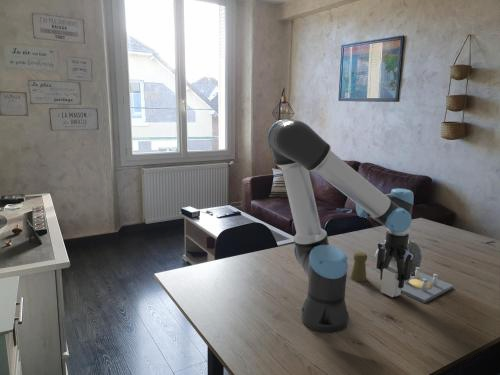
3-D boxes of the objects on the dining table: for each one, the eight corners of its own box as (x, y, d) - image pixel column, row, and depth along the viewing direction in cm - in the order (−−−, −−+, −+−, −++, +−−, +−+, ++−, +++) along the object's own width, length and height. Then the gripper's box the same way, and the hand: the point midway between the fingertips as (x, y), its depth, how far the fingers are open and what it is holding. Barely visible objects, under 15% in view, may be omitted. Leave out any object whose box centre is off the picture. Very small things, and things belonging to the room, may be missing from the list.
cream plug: (392, 297, 134) (395, 273, 132) (380, 291, 138) (383, 268, 136) (400, 293, 137) (403, 270, 135) (388, 288, 141) (391, 265, 139)
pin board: (424, 303, 131) (425, 288, 130) (387, 286, 143) (388, 272, 142) (452, 288, 143) (454, 274, 141) (416, 273, 155) (418, 260, 153)
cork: (349, 279, 148) (351, 254, 146) (352, 273, 153) (354, 248, 151) (364, 283, 145) (367, 257, 143) (367, 277, 151) (370, 251, 148)
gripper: (427, 237, 127) (418, 299, 132) (382, 223, 141) (376, 279, 146) (415, 241, 123) (406, 305, 128) (369, 226, 137) (363, 284, 142)
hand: (390, 291), depth 137 cm, fingers closed on cream plug, 5 cm apart
